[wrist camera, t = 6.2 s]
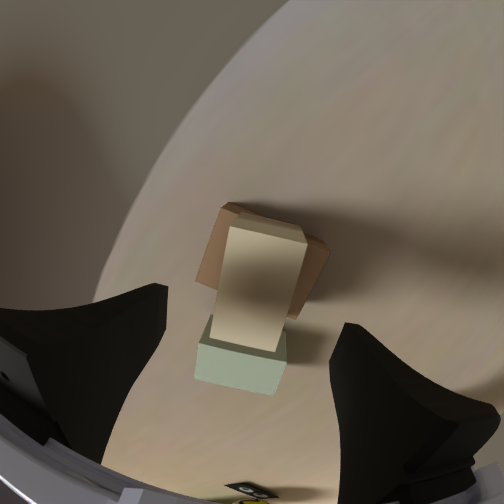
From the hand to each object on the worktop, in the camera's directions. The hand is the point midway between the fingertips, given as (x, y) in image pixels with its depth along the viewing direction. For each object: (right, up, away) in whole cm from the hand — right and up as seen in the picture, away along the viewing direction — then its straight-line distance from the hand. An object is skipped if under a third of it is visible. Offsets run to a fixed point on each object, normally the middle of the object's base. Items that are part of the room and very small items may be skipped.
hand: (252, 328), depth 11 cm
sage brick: (-1, -4, +11) cm, 12 cm away
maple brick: (0, +2, +6) cm, 7 cm away
